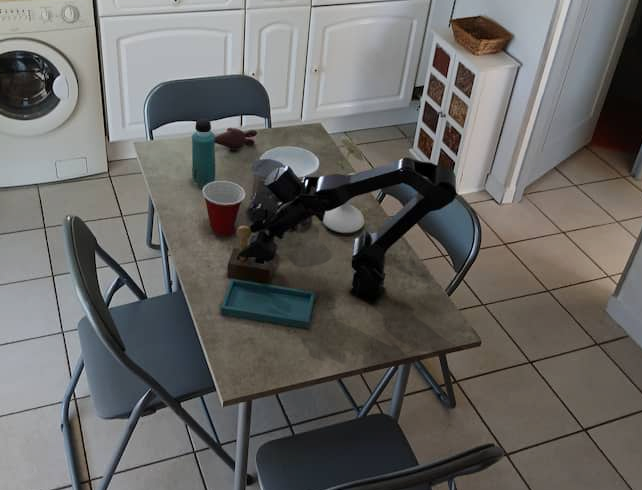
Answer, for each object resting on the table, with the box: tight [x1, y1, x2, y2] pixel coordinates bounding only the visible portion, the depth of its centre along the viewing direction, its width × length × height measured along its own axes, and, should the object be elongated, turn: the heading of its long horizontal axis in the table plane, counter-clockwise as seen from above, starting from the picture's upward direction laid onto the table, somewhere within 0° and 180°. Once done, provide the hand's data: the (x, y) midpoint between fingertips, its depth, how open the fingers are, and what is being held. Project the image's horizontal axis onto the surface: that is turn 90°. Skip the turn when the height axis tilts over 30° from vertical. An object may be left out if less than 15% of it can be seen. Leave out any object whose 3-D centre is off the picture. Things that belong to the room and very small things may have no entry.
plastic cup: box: [202, 180, 246, 236], centre depth 190 cm, size 11×11×12 cm
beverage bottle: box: [191, 118, 216, 186], centre depth 203 cm, size 6×7×20 cm
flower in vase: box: [322, 135, 365, 234], centre depth 193 cm, size 13×11×25 cm
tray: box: [220, 278, 316, 330], centre depth 171 cm, size 20×10×2 cm, turn 82°
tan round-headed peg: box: [235, 225, 253, 261], centre depth 176 cm, size 3×2×14 cm, turn 82°
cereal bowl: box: [259, 146, 320, 181], centre depth 211 cm, size 17×17×7 cm
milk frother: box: [248, 159, 313, 225], centre depth 195 cm, size 14×16×15 cm
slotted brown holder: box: [227, 247, 275, 285], centre depth 179 cm, size 10×6×4 cm, turn 82°
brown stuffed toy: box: [215, 127, 258, 152], centre depth 224 cm, size 7×7×15 cm
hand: (244, 243), depth 175 cm, fingers open, 9 cm apart
